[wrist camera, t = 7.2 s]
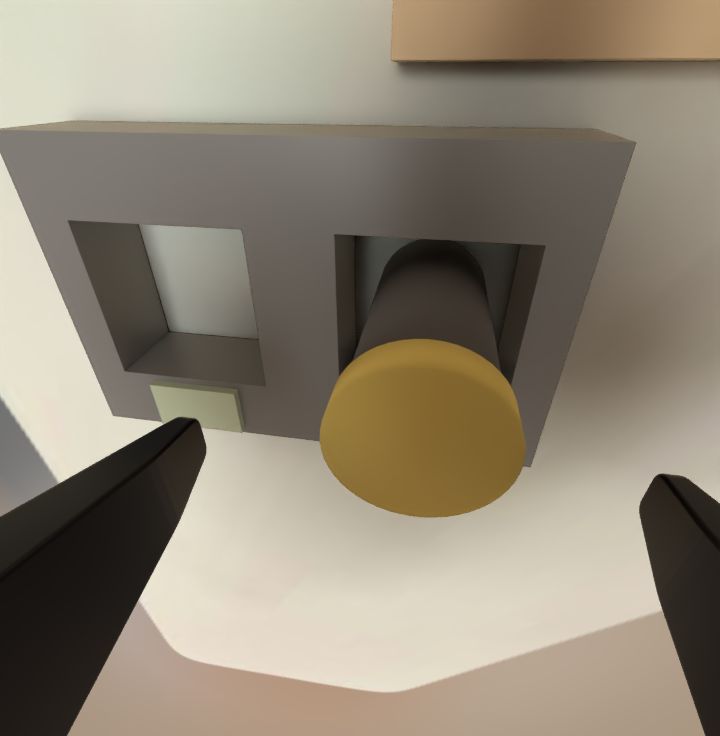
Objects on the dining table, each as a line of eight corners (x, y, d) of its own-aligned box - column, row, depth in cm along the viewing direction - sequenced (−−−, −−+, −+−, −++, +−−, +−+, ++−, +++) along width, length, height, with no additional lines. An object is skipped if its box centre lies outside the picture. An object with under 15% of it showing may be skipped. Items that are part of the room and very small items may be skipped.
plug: (500, 234, 13) (549, 380, 7) (480, 342, 16) (503, 529, 9) (376, 228, 14) (313, 357, 8) (374, 333, 16) (324, 503, 10)
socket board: (596, 129, 12) (641, 144, 9) (518, 411, 17) (531, 473, 14) (71, 120, 14) (-20, 130, 11) (155, 373, 19) (108, 420, 17)
